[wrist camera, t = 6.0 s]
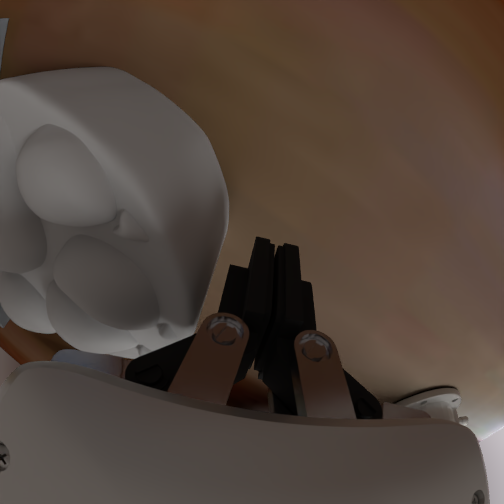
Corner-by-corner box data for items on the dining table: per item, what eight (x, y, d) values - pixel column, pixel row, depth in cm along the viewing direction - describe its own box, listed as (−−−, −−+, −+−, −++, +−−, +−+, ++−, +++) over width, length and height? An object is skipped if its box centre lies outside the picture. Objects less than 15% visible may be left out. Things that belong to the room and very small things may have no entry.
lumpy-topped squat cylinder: (93, 44, 10) (-43, 55, 3) (279, 192, 14) (275, 324, 7) (30, 184, 15) (-58, 253, 8) (169, 297, 19) (124, 409, 12)
